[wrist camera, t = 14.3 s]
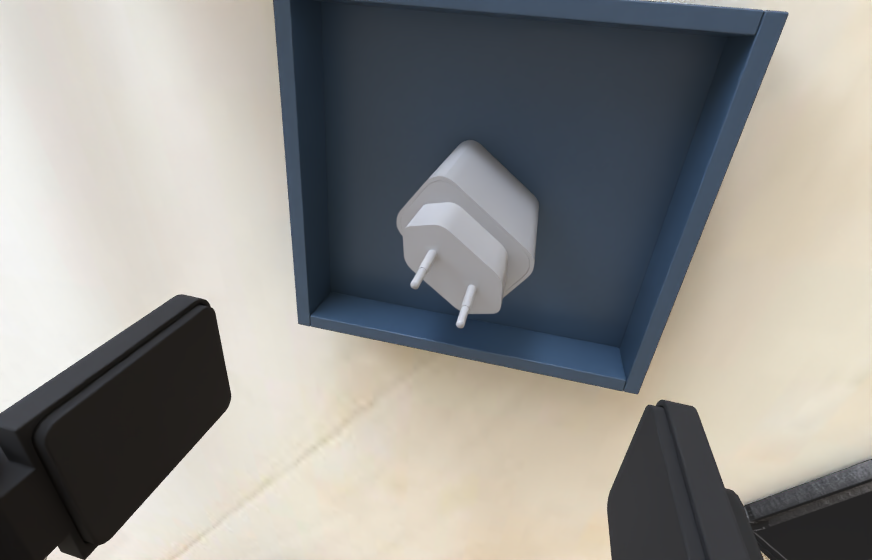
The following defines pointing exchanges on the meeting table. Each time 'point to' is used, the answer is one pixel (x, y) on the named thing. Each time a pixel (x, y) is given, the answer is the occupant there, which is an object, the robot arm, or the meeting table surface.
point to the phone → (818, 518)
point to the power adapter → (470, 231)
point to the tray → (514, 162)
